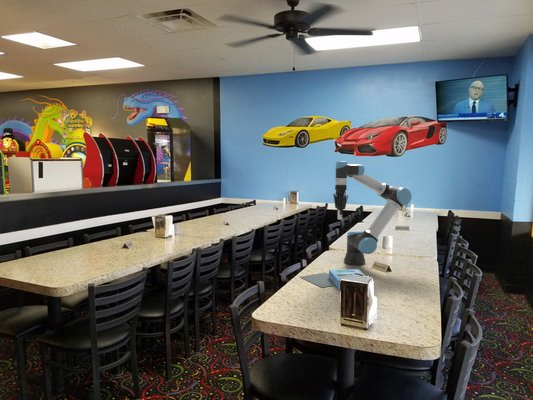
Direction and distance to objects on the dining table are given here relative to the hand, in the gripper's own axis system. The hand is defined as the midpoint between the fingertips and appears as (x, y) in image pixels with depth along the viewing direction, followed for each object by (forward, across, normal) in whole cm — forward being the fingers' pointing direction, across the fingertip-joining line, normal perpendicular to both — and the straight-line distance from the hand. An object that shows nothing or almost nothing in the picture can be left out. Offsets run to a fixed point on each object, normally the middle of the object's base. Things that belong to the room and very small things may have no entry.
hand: (339, 219), depth 257 cm
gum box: (+31, +17, -10) cm, 37 cm away
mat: (+34, +15, -24) cm, 45 cm away
